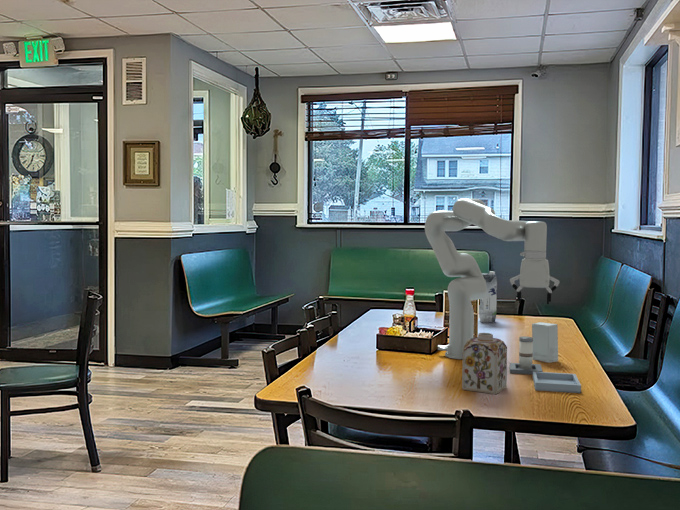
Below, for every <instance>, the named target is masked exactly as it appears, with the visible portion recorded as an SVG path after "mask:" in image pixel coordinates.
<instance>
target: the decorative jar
mask: <svg viewBox="0 0 680 510" xmlns="http://www.w3.org/2000/svg"><path fill="white" fill-rule="evenodd" d="M477 335H478V336H477V337H473V338H471V339H468V340H467V342H466V344H465V346H464V348H463V359H462V372H461V373H462V374H461V389H462V390H463V391H469V392H476V393H482V394H490V395H497V394H498V393H500V392H501V391H503V390H504V389H505V388H507V386H508V385H507V383H508V382H507V381H508V380H507V379H508V346H507V344H506V343H505V341H504V340H502V339H500V338H496V337H494V336H493V335H494V334H493V333H489V332H478V334H477Z"/></svg>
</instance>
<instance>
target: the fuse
mask: <svg viewBox="0 0 680 510" xmlns="http://www.w3.org/2000/svg"><path fill="white" fill-rule="evenodd" d="M518 339H519V341H518V342H519V348H518V349H519V352H518V363H519V369H532V364H533V337H531V336H519V338H518Z"/></svg>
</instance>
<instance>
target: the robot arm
mask: <svg viewBox="0 0 680 510" xmlns="http://www.w3.org/2000/svg"><path fill="white" fill-rule="evenodd" d="M471 225H473V226H476V227H478V228H481V229H482V230H483V231H484V233H486V234H488V235H489V236H491V237H494V238H496V239H499V240H501V241H504V242H524V247H523V248H524V250H523V251H522V252H521V251H520V254H519V256H520V257H523V258H522V259H521V263H520V272H519V274H518V275H516V276H514V277H511V278H509V282H510V285H511V286H512V288H513V289H514V290H515V292H516V300H517V301H518V304H521V303H522V291H521V290H523V289H524V288H531V289H532V288H536V289H546V304H547V305H549V304H550V302H552V293H553V292H554V291H556V289H557V287H558V286H559V285H560V280H559V279H557V278H555V277H553V276H551V275H550V264H549V260H548V259H547V236H548V235H547V234H548V232H547V231H548V227H547V223H546V222H545V221H537V220H536V221H535V220H533V221H532V220H531V221H528V220H527V221H526V220H516V219H515V220H513V219H512V220H509V219H508V220H507V219H504V218H502V217H500V216H497V215H496V211H495V210H494V209H493V208H492V207H491V206H490V207H489V206H487V205H486V203H485V202H484V201H483V200H481V199H478V198H468V197H465V198H459V199H458V200H456V201H455V202H454V203H453V206H452V210H435V211H433V212H430V213H429V214H428V216H427V217H426V219H425V223H424V233H425V236H426V238H427V241H428V242H429V245H430V246H431V248H432V250H433V252H434V255H435V257H436V260H437V262H438V265H439V267H440V268H441V269H440V270H441V271H442V273H443V274H444V276H446V277H449V278H454V279H453V280H451V281H450V282H449V283H448V286H447V297H448V303H449V304H448V305H449V307H448V308H449V326H448V327H449V331H448V333H449V334H448V335H449V336H448V337H449V338H448V344H446V345H442V344H438V345H437V350H438V351H440V352H441V351H442V352H444V351H445V352H444V356H445V357H446V358H449V359H453V360H463V348H464V346H465V344H466V342H467V340H468V339H471V338H474V336H475V335H474V329H475V328H474V327H475V320H474V319H475V317H474V315H475V311H474V307H473V304H472V302H473V301H477V300H478V301H479V299H481V298H483V297H484V296H485V295H486V292H487V286H486V282H485V280H484V277H483V275H482V273H483V272H482V271H481V269H480V266H479V264H478V262H477V260H476V259H475V258H474V256H473V255H472V254H469V253H466V252H458V250H457V248H456V247H455V244H454V242H453V240H452V239H451V238H450V236H449V235H448V234H446V232H458V231H459V232H460V231H462V230H464V229H465V228H467V227H469V226H471ZM518 280H519V286H518V285H517V284H516V283H515V281H518ZM550 281H551V282H554V284H553V285H552V287H550Z"/></svg>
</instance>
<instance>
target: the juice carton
mask: <svg viewBox="0 0 680 510" xmlns="http://www.w3.org/2000/svg"><path fill="white" fill-rule="evenodd" d="M481 273H482V275H483V277H484V280H485V282H486V286H487V292H486V295H485V296H484V297H483V298H481V299H480V305H479V304H478V317H479V321H480V323H488V322H494V323H495V322H496V319H497V303H498V302H497V301H498V299H497V296H498V294H497V293H498V279H497V274H496V271H491V270H489V272H481Z"/></svg>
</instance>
